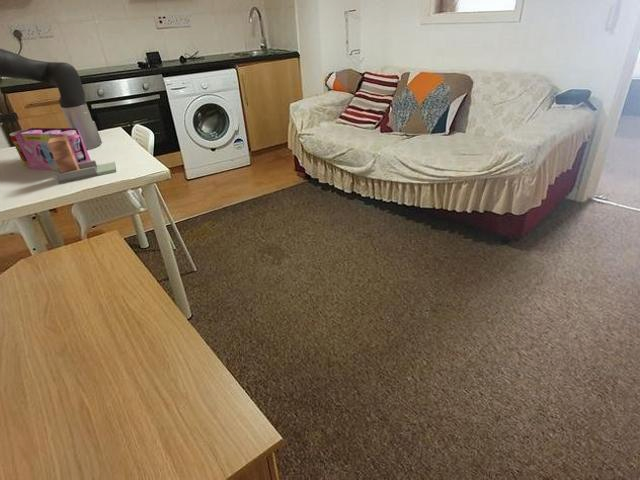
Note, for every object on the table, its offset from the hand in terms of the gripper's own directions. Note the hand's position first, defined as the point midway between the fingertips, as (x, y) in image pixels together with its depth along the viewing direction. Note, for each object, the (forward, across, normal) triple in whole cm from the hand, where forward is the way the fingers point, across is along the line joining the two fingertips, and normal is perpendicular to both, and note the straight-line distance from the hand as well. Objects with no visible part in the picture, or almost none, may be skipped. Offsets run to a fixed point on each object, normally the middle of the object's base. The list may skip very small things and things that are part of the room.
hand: (16, 116), depth 122 cm
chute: (+13, 0, +22) cm, 26 cm away
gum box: (+3, +16, +22) cm, 28 cm away
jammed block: (+8, 0, +21) cm, 22 cm away
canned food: (-6, +28, +22) cm, 36 cm away
